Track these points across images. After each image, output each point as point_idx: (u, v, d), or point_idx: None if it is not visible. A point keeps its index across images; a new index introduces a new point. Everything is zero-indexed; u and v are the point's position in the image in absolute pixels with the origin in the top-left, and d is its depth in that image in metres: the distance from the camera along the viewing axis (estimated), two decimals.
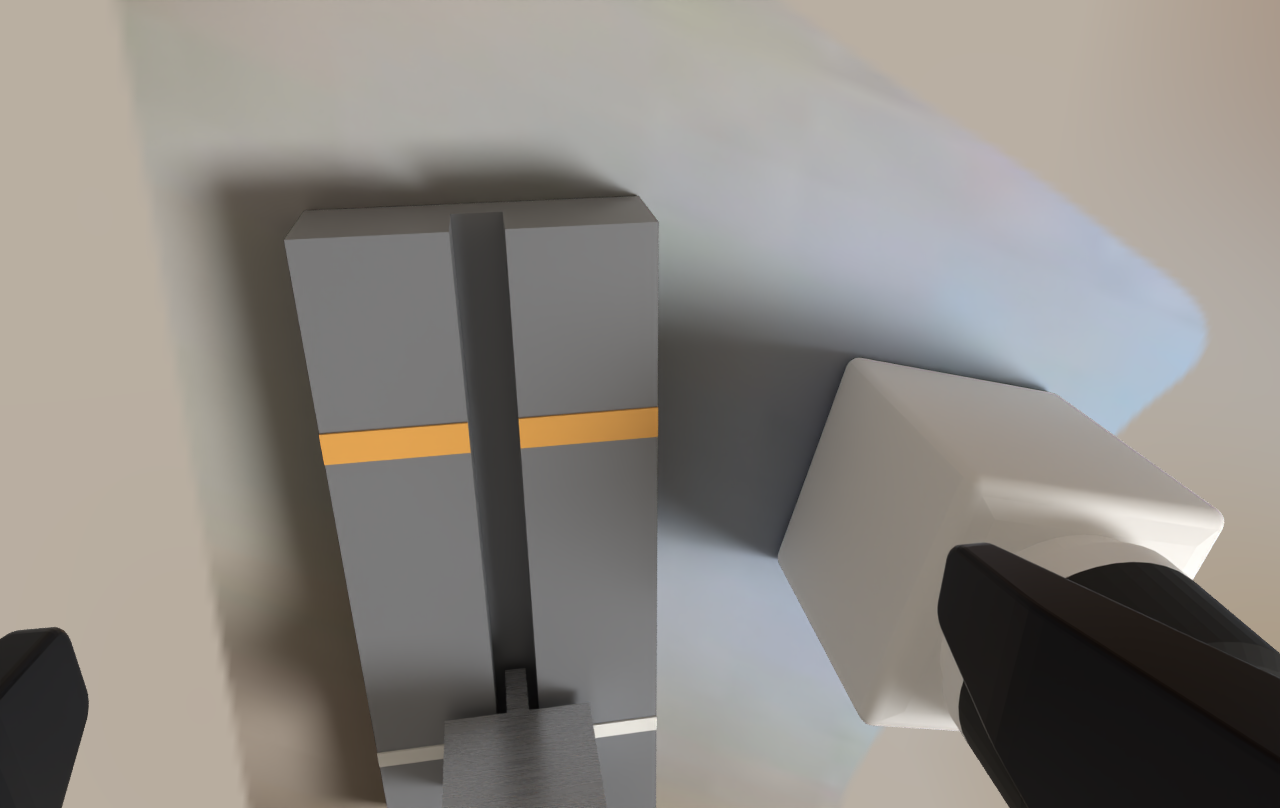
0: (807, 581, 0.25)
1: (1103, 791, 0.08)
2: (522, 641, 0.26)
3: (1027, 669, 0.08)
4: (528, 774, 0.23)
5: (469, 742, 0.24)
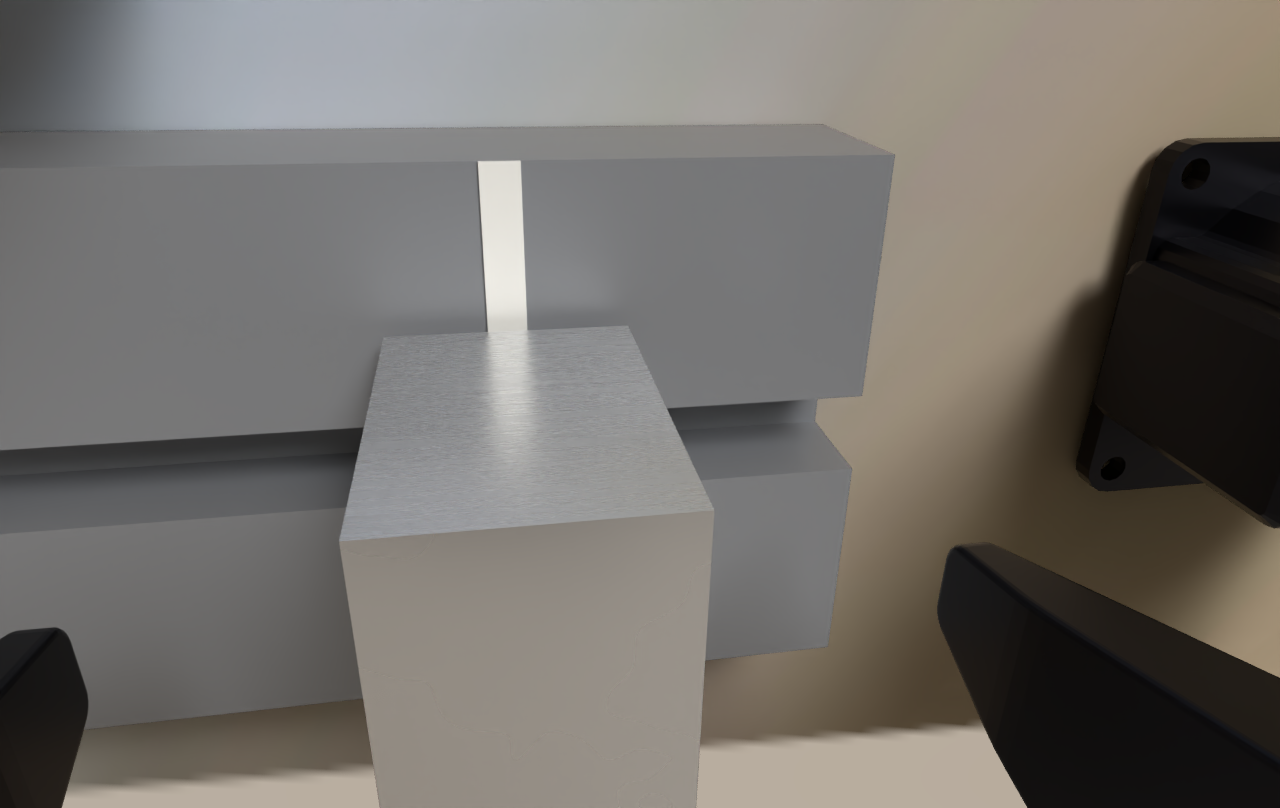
0: None
1: (1103, 791, 0.08)
2: None
3: (1027, 669, 0.08)
4: None
5: None
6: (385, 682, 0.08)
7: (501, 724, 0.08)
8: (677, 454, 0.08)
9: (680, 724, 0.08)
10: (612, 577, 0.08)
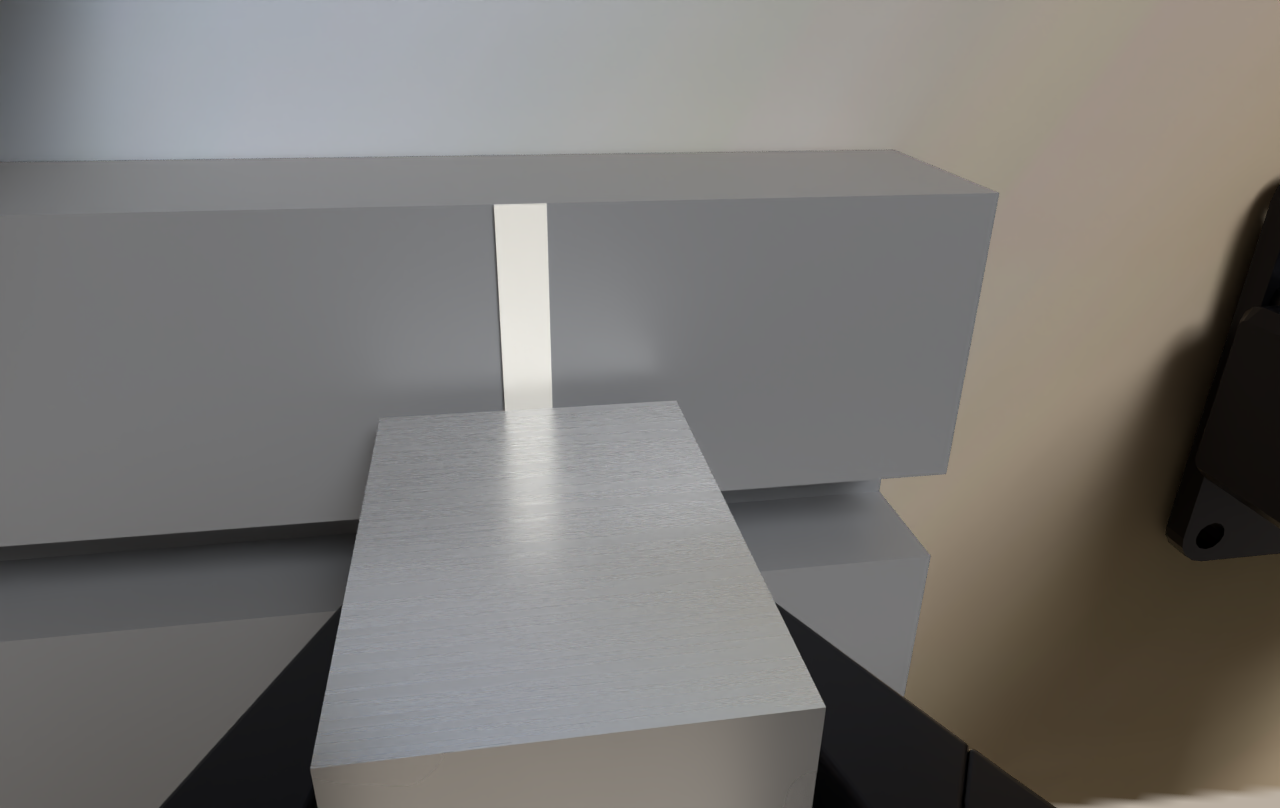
0: None
1: None
2: None
3: None
4: None
5: None
6: None
7: None
8: (762, 606, 0.06)
9: None
10: (683, 792, 0.06)
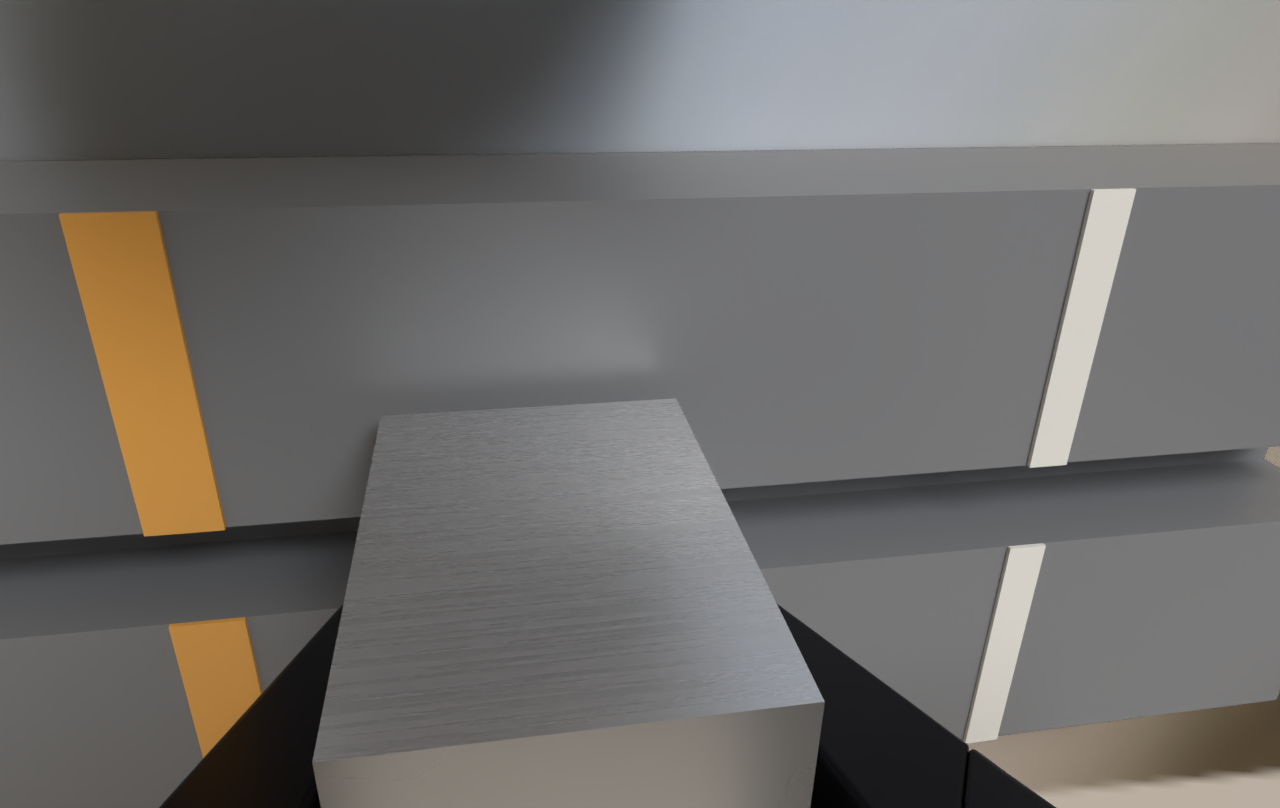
0: None
1: None
2: None
3: None
4: None
5: None
6: None
7: None
8: (761, 602, 0.06)
9: None
10: (684, 787, 0.06)
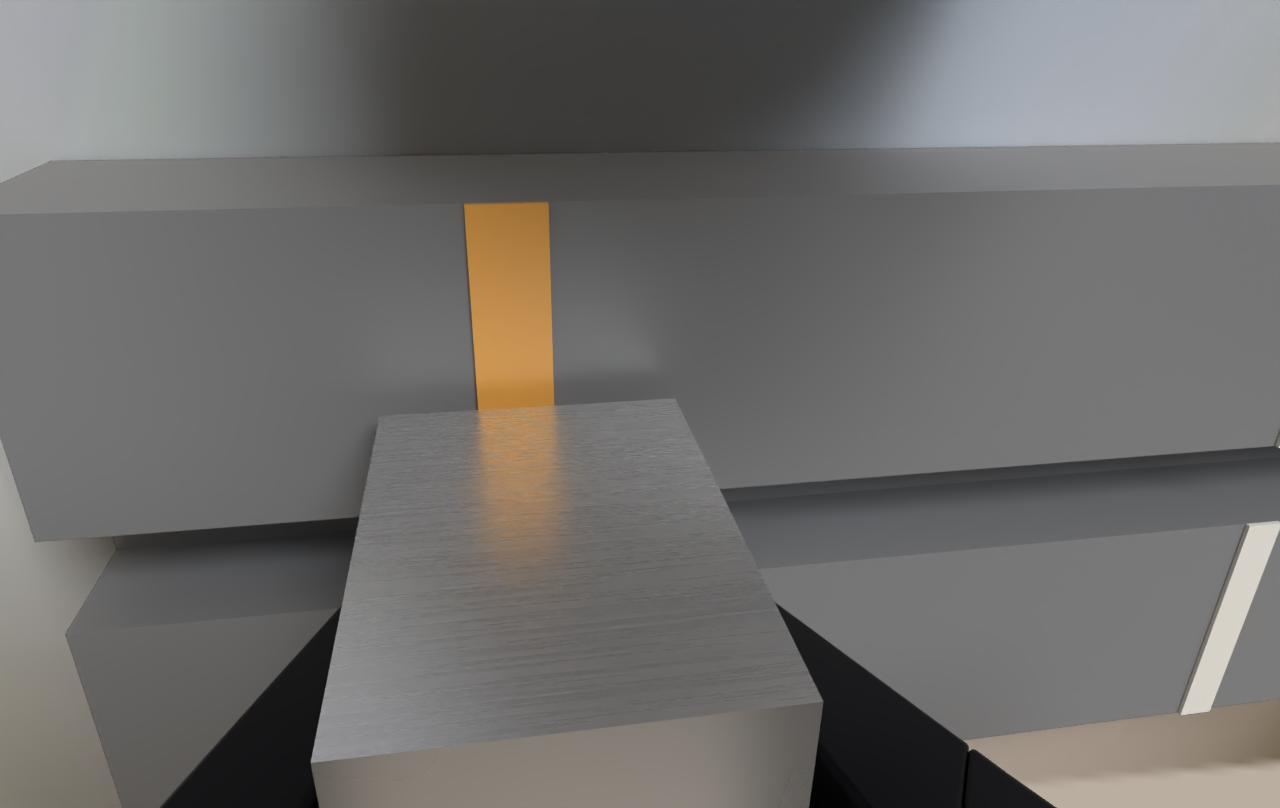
0: None
1: None
2: None
3: None
4: None
5: None
6: None
7: None
8: (760, 602, 0.06)
9: None
10: (683, 787, 0.06)
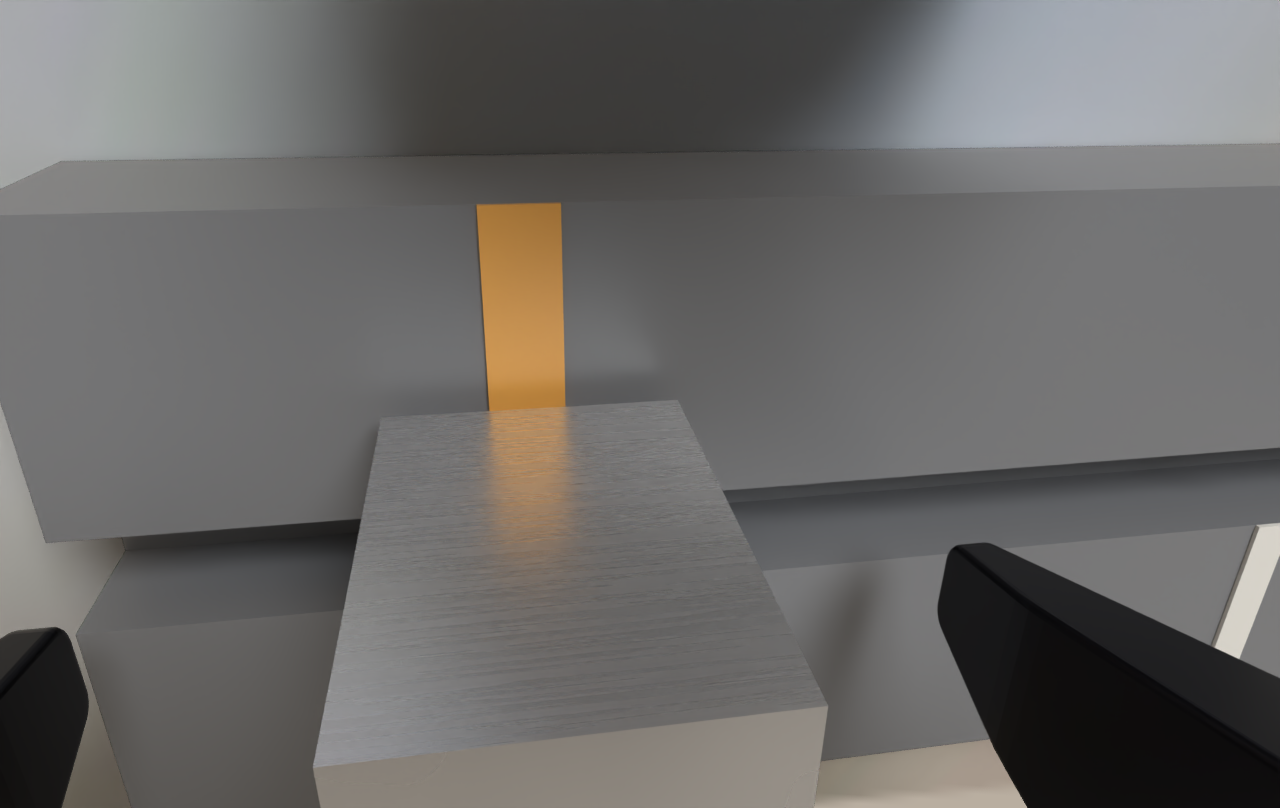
0: None
1: (1103, 791, 0.08)
2: None
3: (1027, 669, 0.08)
4: None
5: None
6: None
7: None
8: (764, 605, 0.06)
9: None
10: (686, 792, 0.06)
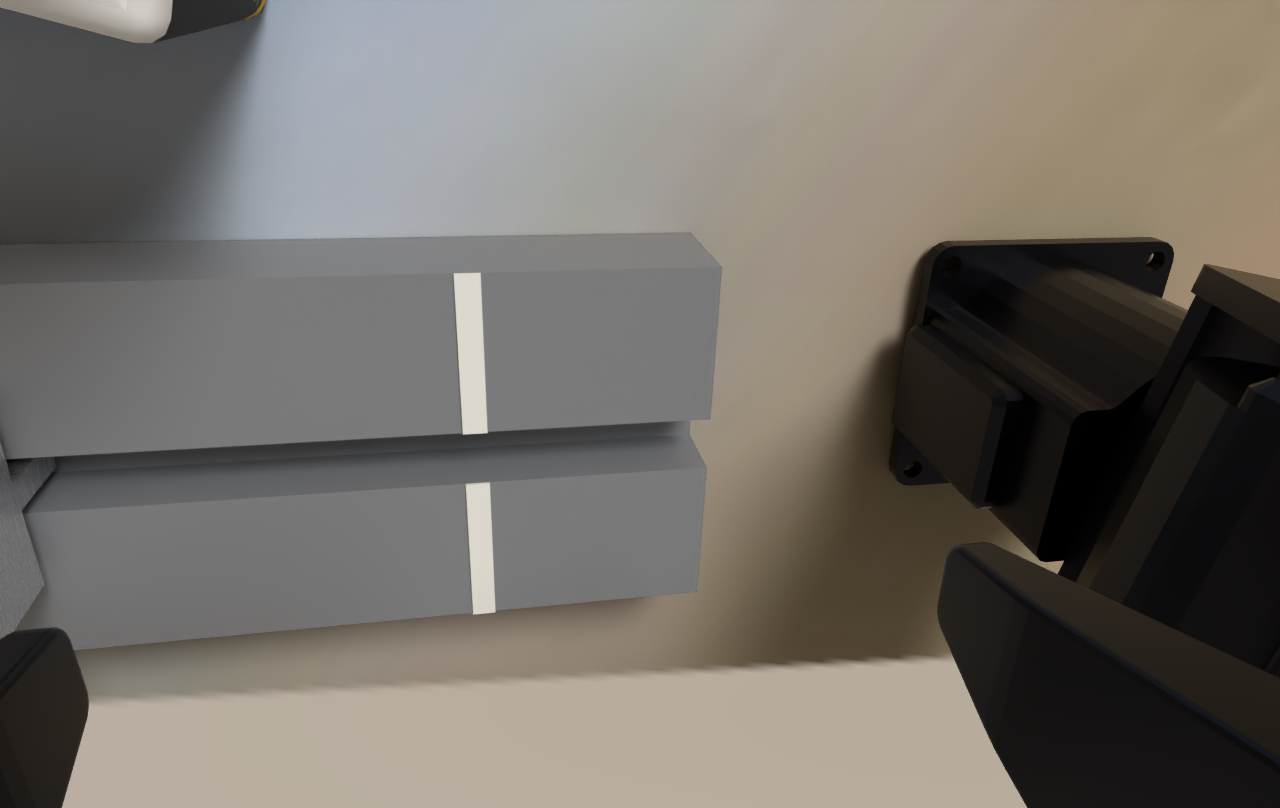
0: None
1: (1103, 791, 0.08)
2: None
3: (1027, 669, 0.08)
4: None
5: None
6: None
7: None
8: None
9: None
10: None
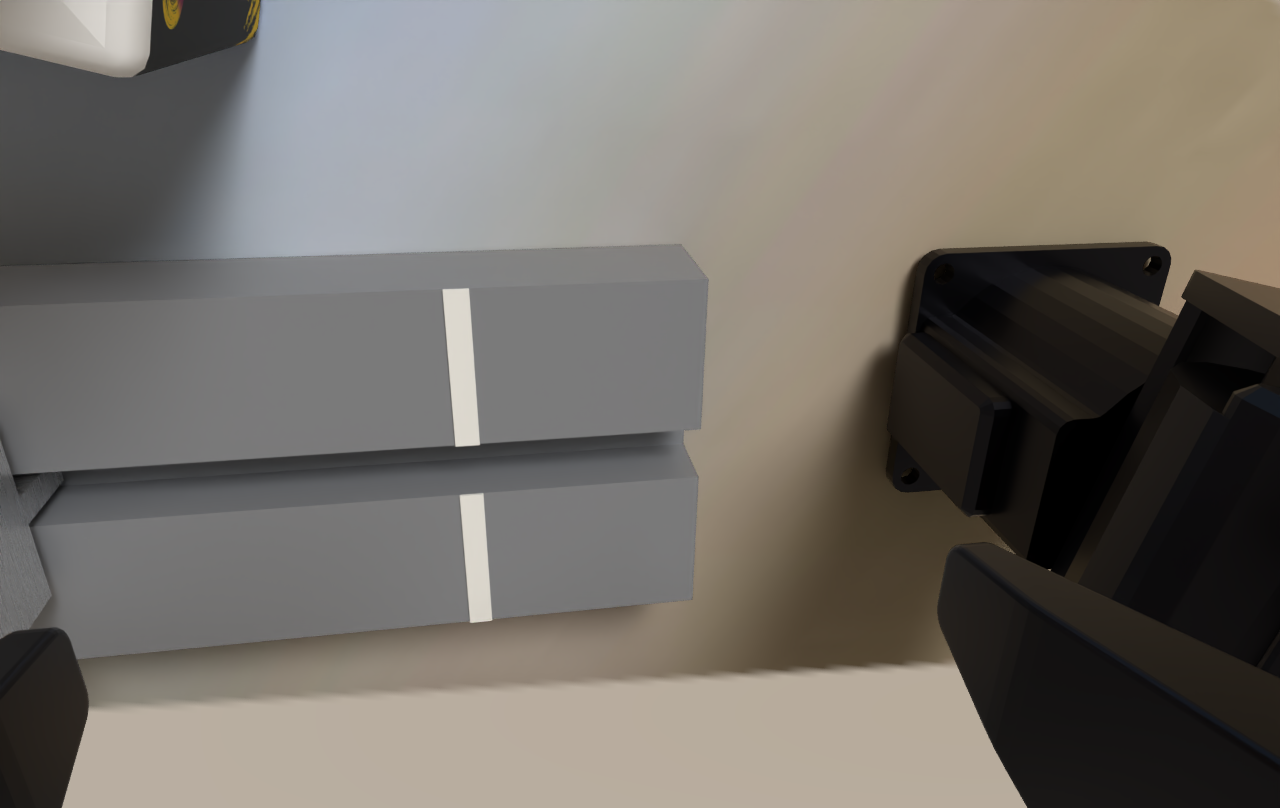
0: None
1: (1103, 791, 0.08)
2: None
3: (1027, 669, 0.08)
4: None
5: None
6: None
7: None
8: None
9: None
10: None
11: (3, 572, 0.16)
